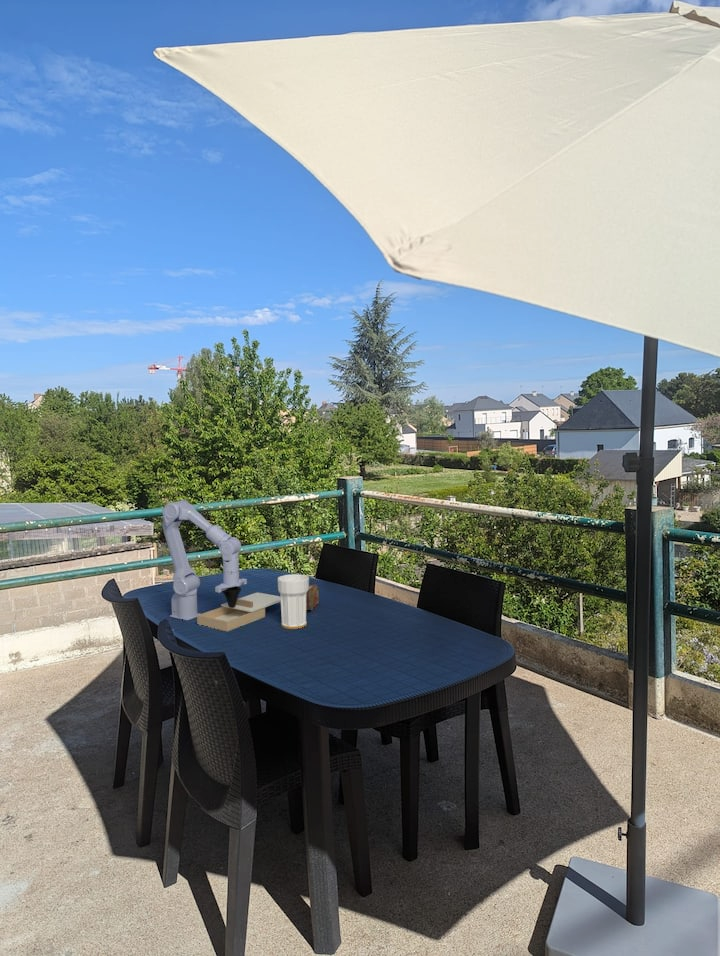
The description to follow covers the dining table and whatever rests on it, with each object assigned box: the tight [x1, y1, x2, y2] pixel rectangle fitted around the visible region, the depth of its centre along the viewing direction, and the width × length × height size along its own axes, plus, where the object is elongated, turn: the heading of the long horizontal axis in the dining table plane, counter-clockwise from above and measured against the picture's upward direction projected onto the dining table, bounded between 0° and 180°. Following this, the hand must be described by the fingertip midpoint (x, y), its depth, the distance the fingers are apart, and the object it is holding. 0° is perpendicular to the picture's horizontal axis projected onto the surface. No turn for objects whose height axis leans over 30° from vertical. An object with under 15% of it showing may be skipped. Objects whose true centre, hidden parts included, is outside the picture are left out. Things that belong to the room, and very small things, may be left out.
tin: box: [306, 584, 320, 612], centre depth 259 cm, size 15×3×8 cm, turn 168°
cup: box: [277, 573, 310, 630], centre depth 237 cm, size 11×11×17 cm
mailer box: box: [196, 606, 266, 632], centre depth 243 cm, size 15×20×4 cm
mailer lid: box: [220, 591, 281, 612], centre depth 253 cm, size 16×20×3 cm
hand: (231, 607), depth 243 cm, fingers closed
